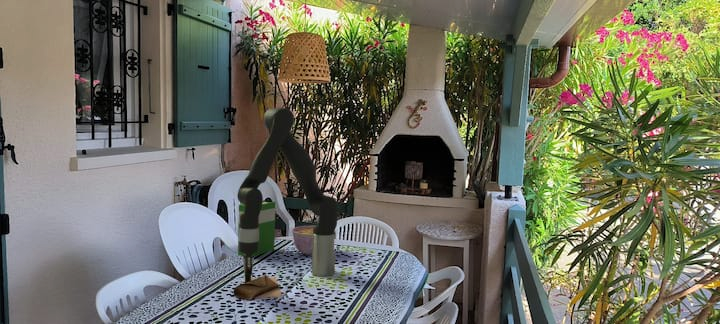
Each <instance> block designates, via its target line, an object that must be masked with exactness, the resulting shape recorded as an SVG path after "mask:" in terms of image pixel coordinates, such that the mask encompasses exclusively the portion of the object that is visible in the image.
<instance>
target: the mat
mask: <svg viewBox="0 0 720 324" xmlns="http://www.w3.org/2000/svg"><path fill="white" fill-rule="evenodd" d="M269 278H270V279H271V280H272V281H274V282H275V283H276V284H278V285H279V283H278V280H277V278H276V277H269ZM254 279H257V277H256V278H251V281H252V280H254ZM280 289H281V288H280V286H279V287H278V288H276V289H274V290H271V291H269V292H267V293H264V294H262V295H260V296H257V297H255V298H254V299H263V298H279V297H281V298H282V297H283V295H282V293H281V290H280Z"/></svg>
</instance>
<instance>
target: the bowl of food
mask: <svg viewBox="0 0 720 324" xmlns="http://www.w3.org/2000/svg"><path fill="white" fill-rule="evenodd" d="M314 226H315V225H301V226H300V225H299V226H296V227H293V228H291V231H292V237H293V240H294V241H293V242H294V246H295V248H296V249H297V251H299V252H301V253H302V254H304V255H305V254H306V256H312V245H313V227H314Z"/></svg>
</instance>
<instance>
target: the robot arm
mask: <svg viewBox="0 0 720 324" xmlns="http://www.w3.org/2000/svg"><path fill="white" fill-rule="evenodd" d="M263 120H264V124H265V127H266V128H267V130H268V131H269V133H270V134H269V136H268V138H267V139H266V142H265V143H264V144H263V146H262V147H261V149H260V150H258V153H257V154H256V155H255V158H254V160H253V161H252V164H251V167H250V169H249V172H248V174H247V176H246V177H245V178H244V180H243V182H242V183H241V185H240V186H239V188H238V191H237V194H236V195H237V197H236V198H237V200H238V201H239V203H240V204H245V211H244V212H242V213H241V215H240V229H239V247H238V246H237V252H238V251H239V252H240V253H245V256H242V262H243V263H242V264H243V270H244V271H243V273H244V284H245V283H247V282H249V281H251V279H252V275H253V269H254V262H255V256H254V255H253V256H252V254H253V253H257V252H258V251H259V214H260V211H261V207H262V202H263V200H264V198H263V196H264V195H263V194H262V191H261V190H260V189H259V186H260V185H261V184H265V182H267V179H268V177H269V174H270V172H271V169H272V167H273V163H274V161H275V158H276V157H277V155H278V153H279V151H281V152H282V154H283V156H284V158H285V160H286V162H287V164H288V167H289V168H290V170H291V172H292V173H293V174H292V175H294V178H295V179H296V181H297V183H298V184H299V187H300V188H301V190H302V192H303V195H304V196H305V199H306V202H307V204H308V207H309V209H310V210H311V212H312V213H313V215H315V216H317V217H318V223H317V224H315V225H313V226H314V227H313V245H312V255H311V274H312V275H314V276H317V277H326V276H327V277H328V276H331V275H335V270H336V268H335V267H336V266H335V265H336V251H335V237H336V236H335V234H336V229H337V226H338V225H337V224H338V215H339V205H338V200H336V198H334V197H332V196H330V195H326V194H324V192H323V191H322V190H321V188H320V186H319V184H318V181H317V168H316V166H315V163H314V162H313V160H312V158H311V156H310V155H311V154H309V152H308V151H307V150H306V148H304V146H303V145H302V144H301V143H300V142H299V141H298V140H297V139H296V138H295V137H294V135H293V134H292V132H291V129H292V128H293V125H294V122H295V115H294V113H293V111H292V110H290V109H289V108H285V107H273V108H269V109H267V111H266V112H265V113H264V116H263Z"/></svg>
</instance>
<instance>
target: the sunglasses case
mask: <svg viewBox="0 0 720 324" xmlns="http://www.w3.org/2000/svg"><path fill="white" fill-rule="evenodd" d="M256 278H257V277H256ZM270 278H271V277H268V276H267V274H264V275H262V276H260V277H258V278H257V279H255V278H253V279H254V280H252V281H249V282H247V283H245V282H244V283H241V284H238V285H237V286H235V288H234V289H233V295H234V297H236V298H238V299H241V300H250V301H251V300H253V299H256V298H255V297H257V296H260V295H262V294H264V293H267V292H269V291H271V290H274V289H276V288H278V287H279V288H280V287H281V285H280V284H279V283H278V284H276V283H275V282H274V281H272V280H271V279H270Z"/></svg>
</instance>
